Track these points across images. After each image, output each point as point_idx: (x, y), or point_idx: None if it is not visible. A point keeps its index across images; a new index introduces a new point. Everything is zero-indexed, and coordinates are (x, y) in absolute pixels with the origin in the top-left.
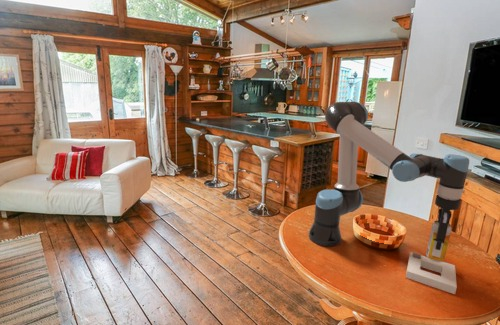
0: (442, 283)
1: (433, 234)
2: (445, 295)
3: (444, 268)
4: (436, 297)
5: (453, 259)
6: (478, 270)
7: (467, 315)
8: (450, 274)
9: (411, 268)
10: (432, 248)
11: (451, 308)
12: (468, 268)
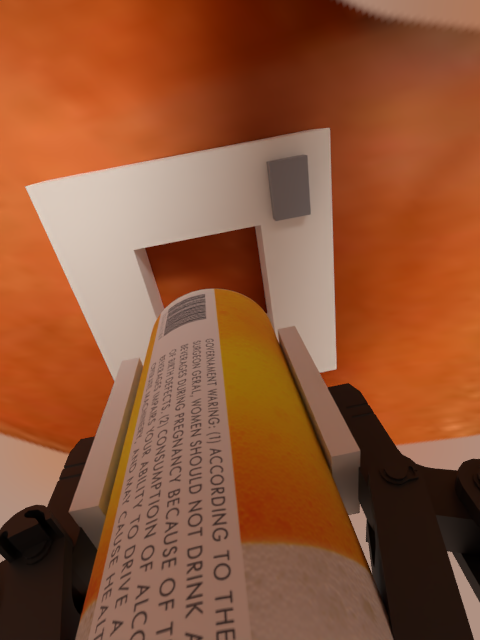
0: (108, 363)
1: (105, 540)
2: (90, 363)
3: None
4: (33, 343)
5: (447, 326)
6: (402, 407)
7: (36, 434)
8: None
9: (91, 202)
10: (139, 387)
11: (19, 395)
12: (396, 382)
